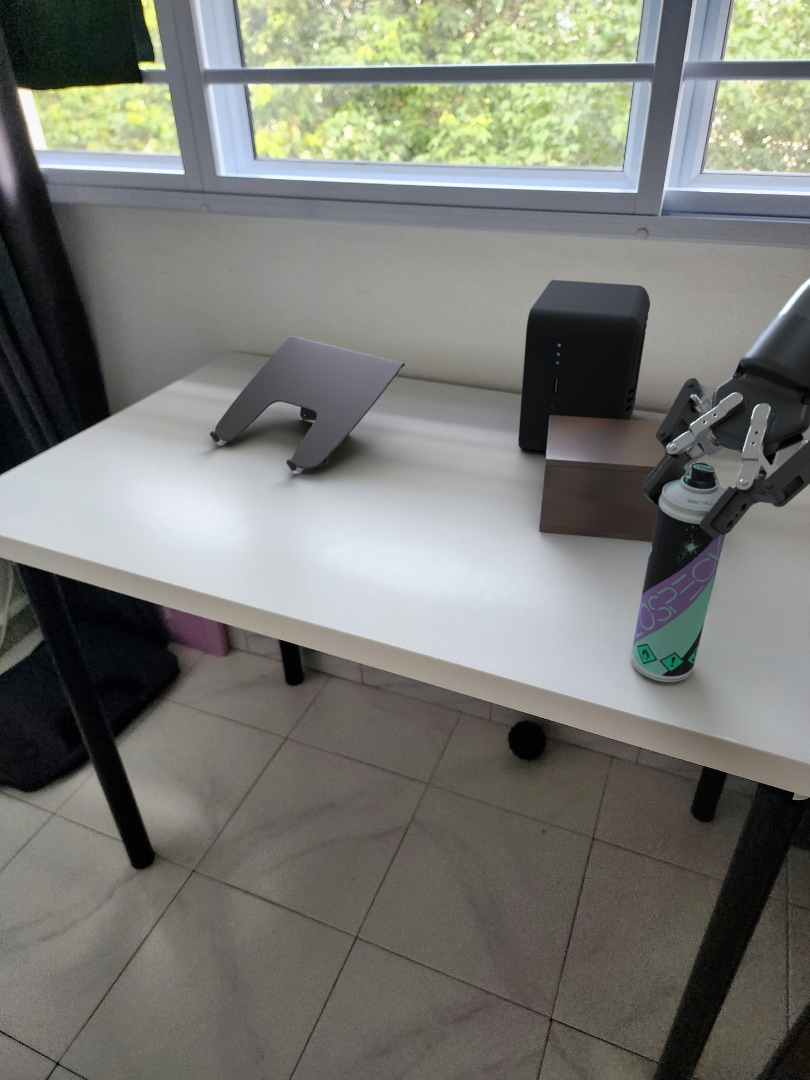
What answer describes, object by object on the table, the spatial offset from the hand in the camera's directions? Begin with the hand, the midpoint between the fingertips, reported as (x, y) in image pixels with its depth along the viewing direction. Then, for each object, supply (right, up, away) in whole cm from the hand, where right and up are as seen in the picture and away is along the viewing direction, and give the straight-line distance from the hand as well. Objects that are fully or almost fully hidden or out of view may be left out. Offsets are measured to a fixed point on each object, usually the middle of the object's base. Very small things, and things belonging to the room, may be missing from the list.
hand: (677, 514), depth 59 cm
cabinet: (+3, +2, +34) cm, 34 cm away
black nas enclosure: (+4, +14, +53) cm, 55 cm away
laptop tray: (-37, +13, +53) cm, 66 cm away
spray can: (+2, -13, +10) cm, 17 cm away
